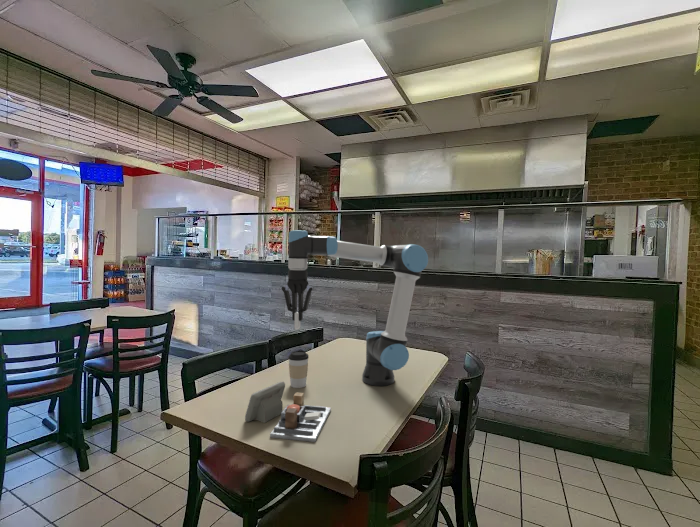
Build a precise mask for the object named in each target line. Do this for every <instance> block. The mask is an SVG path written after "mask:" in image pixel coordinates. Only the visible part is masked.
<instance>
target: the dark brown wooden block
mask: <svg viewBox="0 0 700 527" xmlns="http://www.w3.org/2000/svg"><path fill="white" fill-rule="evenodd" d="M296 427H297V409H294V408H288V409H287V411H286V412H285V428H294V429H295V428H296Z"/></svg>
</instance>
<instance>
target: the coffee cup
mask: <svg viewBox="0 0 700 527" xmlns="http://www.w3.org/2000/svg"><path fill="white" fill-rule="evenodd" d="M287 358H288V370H289V380H290V387H291V388H294V389H302V388H305V387H306V386H307V378H308V370H309V368H308V367H309V354H308V353H307V352H306V351H304V350H303V349H298V350H295V351H292V352H290V354H289V355H288V357H287Z"/></svg>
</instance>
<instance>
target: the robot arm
mask: <svg viewBox="0 0 700 527" xmlns="http://www.w3.org/2000/svg"><path fill="white" fill-rule="evenodd" d="M287 244H288V246H287V247H288V259H287V260H288V261H287V263H288V264H287V266H288V271H287V272H288V273H287V276H288V277H287V278H288V279H287V282H286V285H284V286H282V287H281V290H282V292H283V295H284V299H285V303H286V308H287V311H288V312H291V313H292V315H291V316H292V317H291V319H292V321H293V322H294V330H296V331H297V330H300V329H301V322H302V321H303V318H304V315H303V314H304V313H305V312H306V311H308V309H309V305H310V300H311V296H312V293H313V291H314V289H315V287H314V286H311V285H309V281H308V270H307V269H308V261H309V260H308V256H309V255H312V256H324V257H332V258H339V259H347V260H353V261H363V262H368V263H376V264H378V265H379V266H383V267H388V268H391V269H393V274H394V276H395V280H394V286H393V291H392V295H391V301H390V306H389V310H388V315H387V320H386V326H385V330H375V331H373V330H372V331H369V332H367V333H366V338H365V340H366V341H365V343H366V344H365V345H366V346H365V347H366V351H365V352H366V353H365V356H366V357H365V359H366V360H365V366H364V369H363V372H362V375H361V376H362V378H361V380H362V382H363V383H365V384H367V385H369V386H374V387H375V386H376V387H385V386H390V385H393V383H395V373H394V371H398V370H401V369H402V368H404V367H405V366H406V365H407V363H408V361H409V359H410V357H409V356H410V354H409V350H408V347H407V343H408V338H407V335H406V330H407V326H408V321H409V316H410V310H411V305H412V300H413V297H414V296H413V295H414V292H415V286H416V282H417V280H419V279H421V275H422V271H423V270H425V269H426V268H427V266H428V264H429V255H428V253H427V251H426V250H425V248H424V247H423V246H422V245H419V244H414V243H408V244H397V245H385V244H383V245H381V246H377V245H372V244H371V245H370V244H364V243H363V244H362V243H357V242H351V241H343V240H338V239H337V236H330V235H327V236H326V235H309V234H308V230H301V229H293V230H290V231H289V232H288V243H287ZM289 290H290V291H289ZM305 290H306V291H307V292H306V294H304V292H305ZM290 292H291V294H290ZM304 295H305V299H304Z"/></svg>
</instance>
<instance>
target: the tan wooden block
mask: <svg viewBox="0 0 700 527" xmlns="http://www.w3.org/2000/svg"><path fill="white" fill-rule="evenodd" d="M292 397H293V399H292V400H293V401H292V402H293V403H292V404H296V405H299V406H304V405H305V392H295V393H294V394H293V396H292Z"/></svg>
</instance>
